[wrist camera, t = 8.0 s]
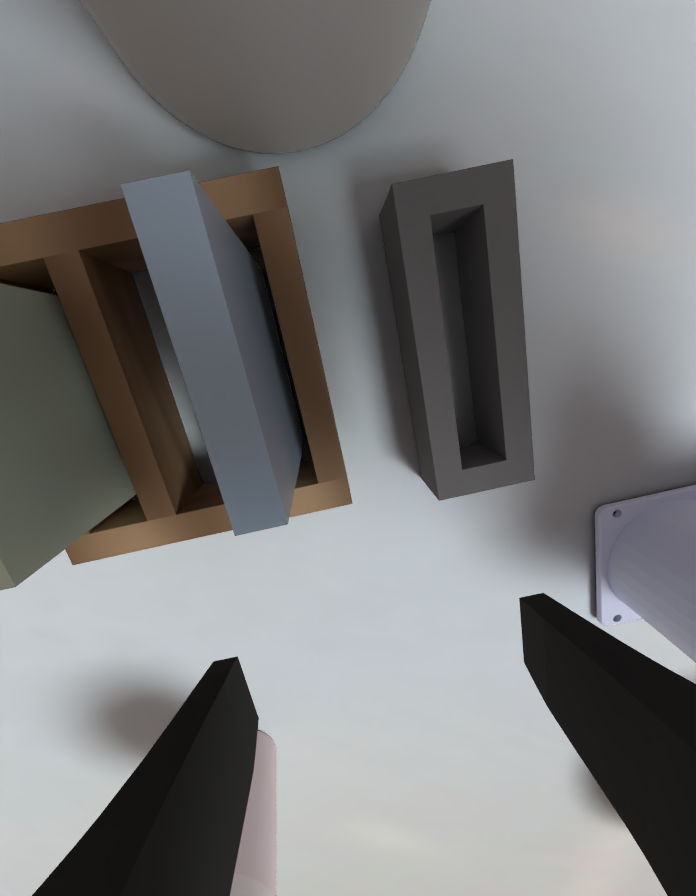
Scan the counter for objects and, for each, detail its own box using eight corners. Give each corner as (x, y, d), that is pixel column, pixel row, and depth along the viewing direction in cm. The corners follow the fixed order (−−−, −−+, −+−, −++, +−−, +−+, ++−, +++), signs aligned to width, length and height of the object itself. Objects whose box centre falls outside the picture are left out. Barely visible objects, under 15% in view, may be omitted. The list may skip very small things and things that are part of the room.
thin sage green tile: (102, 305, 16) (-167, 247, 7) (163, 473, 18) (15, 587, 9) (70, 311, 16) (-238, 261, 7) (136, 479, 18) (-39, 598, 9)
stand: (477, 194, 16) (512, 158, 13) (502, 460, 19) (534, 479, 16) (379, 215, 16) (392, 184, 13) (421, 477, 19) (439, 500, 16)
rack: (287, 207, 15) (278, 166, 12) (346, 475, 19) (352, 503, 15) (8, 265, 15) (-82, 240, 12) (118, 525, 18) (72, 565, 15)
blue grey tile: (261, 269, 16) (189, 170, 7) (304, 441, 18) (287, 524, 9) (230, 276, 16) (120, 184, 7) (277, 447, 18) (234, 536, 9)
